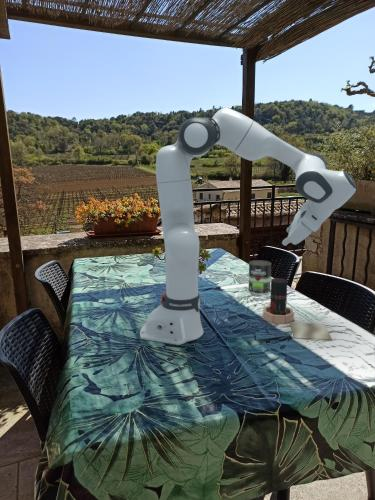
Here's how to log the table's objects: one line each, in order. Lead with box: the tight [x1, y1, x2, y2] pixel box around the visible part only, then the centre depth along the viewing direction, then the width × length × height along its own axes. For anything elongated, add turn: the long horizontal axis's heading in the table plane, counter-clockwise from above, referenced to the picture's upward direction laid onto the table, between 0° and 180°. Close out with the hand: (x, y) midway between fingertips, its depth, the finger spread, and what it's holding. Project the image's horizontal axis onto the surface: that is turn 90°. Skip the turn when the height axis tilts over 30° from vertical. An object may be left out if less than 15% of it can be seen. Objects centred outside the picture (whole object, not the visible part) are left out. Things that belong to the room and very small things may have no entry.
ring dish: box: [262, 304, 295, 325], centre depth 131 cm, size 11×11×3 cm
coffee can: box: [248, 259, 272, 296], centre depth 160 cm, size 10×10×14 cm
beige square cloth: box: [289, 321, 333, 341], centre depth 119 cm, size 12×12×1 cm
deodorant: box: [269, 277, 288, 315], centre depth 130 cm, size 6×6×15 cm
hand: (285, 237), depth 124 cm, fingers open, 8 cm apart
